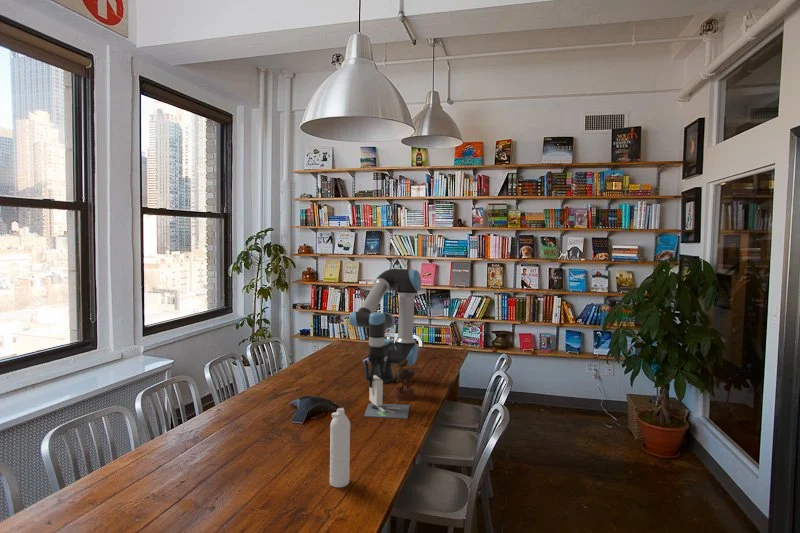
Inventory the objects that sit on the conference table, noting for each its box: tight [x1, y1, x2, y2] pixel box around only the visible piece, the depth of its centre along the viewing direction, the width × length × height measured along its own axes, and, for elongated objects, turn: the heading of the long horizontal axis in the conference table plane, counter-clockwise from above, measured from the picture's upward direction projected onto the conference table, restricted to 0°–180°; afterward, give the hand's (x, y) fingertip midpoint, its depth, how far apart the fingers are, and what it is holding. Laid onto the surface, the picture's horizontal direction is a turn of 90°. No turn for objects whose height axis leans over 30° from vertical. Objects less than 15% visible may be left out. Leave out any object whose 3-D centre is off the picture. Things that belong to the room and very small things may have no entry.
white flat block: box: [368, 375, 385, 413], centre depth 211 cm, size 4×14×14 cm, turn 26°
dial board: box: [363, 402, 410, 420], centre depth 211 cm, size 16×20×1 cm
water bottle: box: [329, 407, 351, 488], centre depth 146 cm, size 9×6×25 cm
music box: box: [393, 360, 415, 401], centre depth 231 cm, size 15×11×20 cm
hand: (375, 393), depth 214 cm, fingers closed on white flat block, 3 cm apart
